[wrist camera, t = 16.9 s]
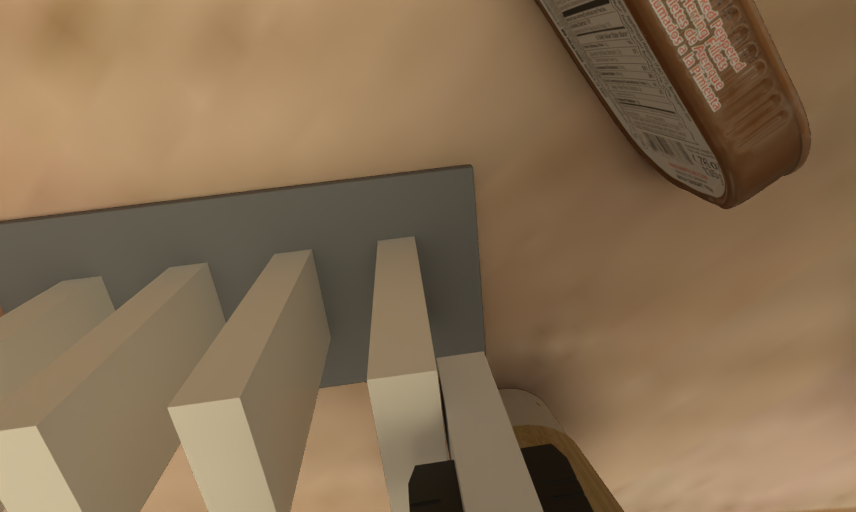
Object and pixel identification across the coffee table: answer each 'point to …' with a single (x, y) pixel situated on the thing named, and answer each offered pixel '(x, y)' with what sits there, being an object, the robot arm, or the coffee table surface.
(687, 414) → the coffee table surface
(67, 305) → the domino
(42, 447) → the domino
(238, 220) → the mat
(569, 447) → the coffee cup
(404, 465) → the domino
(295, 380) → the domino
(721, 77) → the tin
